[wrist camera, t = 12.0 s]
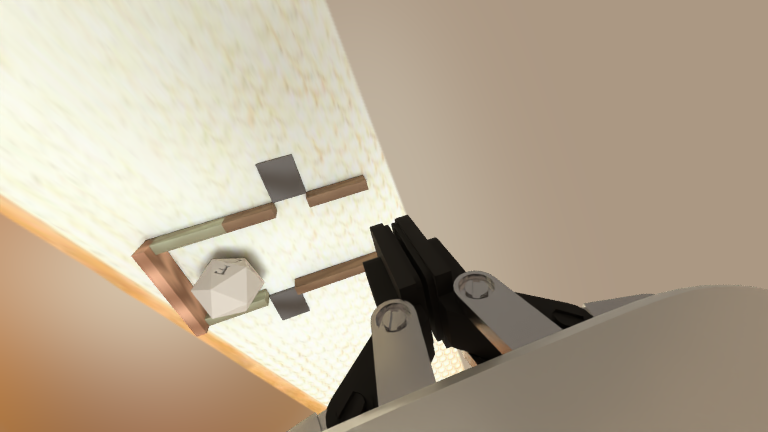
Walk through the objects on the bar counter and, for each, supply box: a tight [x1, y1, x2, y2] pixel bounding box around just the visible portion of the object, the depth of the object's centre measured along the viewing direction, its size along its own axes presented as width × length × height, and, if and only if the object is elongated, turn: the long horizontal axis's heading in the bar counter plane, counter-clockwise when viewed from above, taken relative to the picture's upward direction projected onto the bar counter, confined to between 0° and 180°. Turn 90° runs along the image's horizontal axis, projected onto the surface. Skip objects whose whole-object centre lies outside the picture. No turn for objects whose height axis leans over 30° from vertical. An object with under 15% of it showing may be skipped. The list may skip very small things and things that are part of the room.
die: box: [191, 258, 264, 319], centre depth 42 cm, size 8×9×10 cm
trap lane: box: [132, 154, 378, 336], centre depth 44 cm, size 28×32×4 cm
